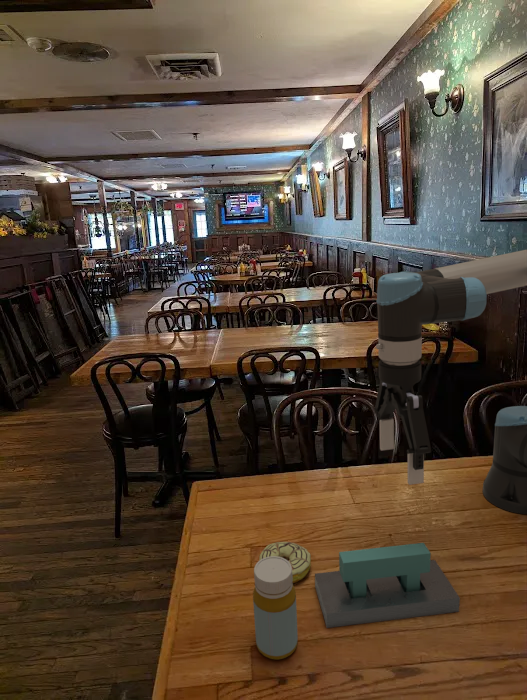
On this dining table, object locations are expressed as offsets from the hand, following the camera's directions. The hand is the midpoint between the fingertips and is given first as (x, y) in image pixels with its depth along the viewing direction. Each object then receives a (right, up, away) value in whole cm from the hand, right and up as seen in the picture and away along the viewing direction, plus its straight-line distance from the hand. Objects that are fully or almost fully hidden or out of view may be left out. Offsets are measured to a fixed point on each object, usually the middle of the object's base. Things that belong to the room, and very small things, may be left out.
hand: (400, 464), depth 93 cm
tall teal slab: (-4, -24, -3) cm, 25 cm away
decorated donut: (-22, -23, +6) cm, 32 cm away
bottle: (-24, -28, -12) cm, 39 cm away
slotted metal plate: (-4, -24, -3) cm, 25 cm away
